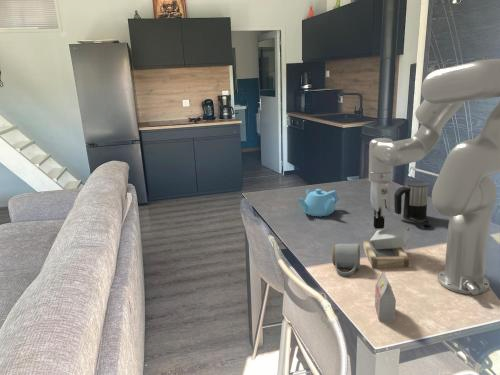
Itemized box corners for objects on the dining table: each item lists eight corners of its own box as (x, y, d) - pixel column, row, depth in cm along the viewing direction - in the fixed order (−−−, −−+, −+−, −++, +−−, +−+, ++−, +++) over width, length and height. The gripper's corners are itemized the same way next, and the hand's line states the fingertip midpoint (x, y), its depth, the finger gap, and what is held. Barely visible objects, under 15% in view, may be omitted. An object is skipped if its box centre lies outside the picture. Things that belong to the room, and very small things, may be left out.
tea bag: (389, 306, 99) (391, 271, 96) (394, 321, 93) (396, 284, 90) (374, 305, 100) (376, 270, 97) (378, 321, 93) (380, 284, 91)
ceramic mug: (334, 259, 126) (333, 238, 124) (359, 261, 123) (360, 240, 121) (331, 276, 116) (330, 253, 114) (359, 278, 114) (359, 255, 112)
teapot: (332, 220, 161) (332, 195, 158) (297, 217, 167) (297, 193, 164) (339, 208, 175) (339, 185, 172) (306, 206, 180) (306, 184, 178)
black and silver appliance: (413, 212, 164) (415, 178, 160) (447, 222, 151) (450, 186, 147) (389, 219, 158) (391, 184, 154) (422, 230, 144) (425, 193, 141)
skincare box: (374, 250, 131) (407, 248, 122) (368, 239, 130) (401, 237, 121) (382, 239, 135) (414, 236, 125) (376, 229, 134) (408, 225, 124)
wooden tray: (408, 267, 118) (409, 258, 117) (372, 267, 119) (372, 259, 118) (395, 248, 132) (396, 240, 131) (362, 248, 132) (363, 240, 132)
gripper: (398, 181, 119) (396, 235, 124) (386, 170, 134) (384, 219, 138) (374, 182, 120) (372, 236, 125) (364, 171, 134) (363, 220, 139)
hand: (378, 227), depth 132 cm, fingers closed
